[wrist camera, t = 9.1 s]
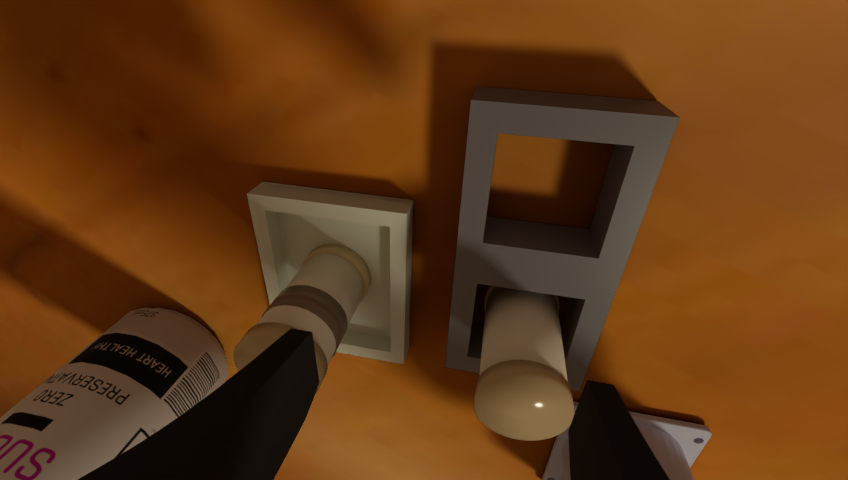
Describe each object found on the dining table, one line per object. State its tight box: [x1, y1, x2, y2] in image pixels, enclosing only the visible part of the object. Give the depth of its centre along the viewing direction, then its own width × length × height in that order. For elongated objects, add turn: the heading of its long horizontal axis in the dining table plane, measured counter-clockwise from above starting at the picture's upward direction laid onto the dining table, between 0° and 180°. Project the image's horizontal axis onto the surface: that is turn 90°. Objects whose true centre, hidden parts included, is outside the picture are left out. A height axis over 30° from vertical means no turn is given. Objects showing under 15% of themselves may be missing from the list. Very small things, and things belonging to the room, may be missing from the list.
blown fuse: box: [234, 244, 371, 392], centre depth 20 cm, size 4×4×7 cm
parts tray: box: [247, 182, 414, 364], centre depth 23 cm, size 10×8×2 cm
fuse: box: [474, 285, 574, 441], centre depth 19 cm, size 4×4×7 cm
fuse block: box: [445, 86, 680, 391], centre depth 19 cm, size 14×7×2 cm, turn 178°
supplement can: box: [0, 308, 228, 480], centre depth 23 cm, size 8×8×15 cm
